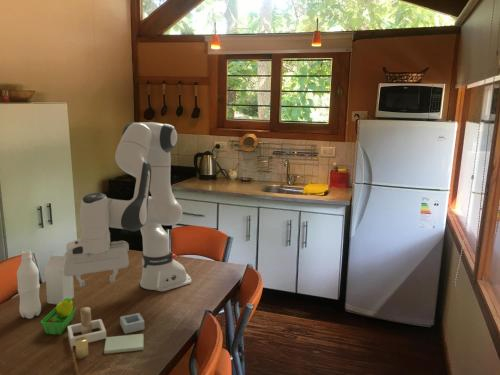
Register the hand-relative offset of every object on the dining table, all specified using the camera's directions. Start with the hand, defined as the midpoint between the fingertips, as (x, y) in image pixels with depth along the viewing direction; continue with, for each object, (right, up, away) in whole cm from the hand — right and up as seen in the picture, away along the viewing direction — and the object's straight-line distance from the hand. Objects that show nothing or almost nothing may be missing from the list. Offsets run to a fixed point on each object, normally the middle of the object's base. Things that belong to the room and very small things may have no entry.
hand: (97, 283), depth 139 cm
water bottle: (-31, -16, +17) cm, 39 cm away
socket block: (+9, -19, +10) cm, 23 cm away
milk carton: (-25, -14, +29) cm, 41 cm away
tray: (-5, -19, +4) cm, 20 cm away
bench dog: (-2, -22, -7) cm, 23 cm away
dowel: (-5, -19, +4) cm, 20 cm away
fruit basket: (-16, -18, +10) cm, 26 cm away
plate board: (+9, -21, -1) cm, 23 cm away
